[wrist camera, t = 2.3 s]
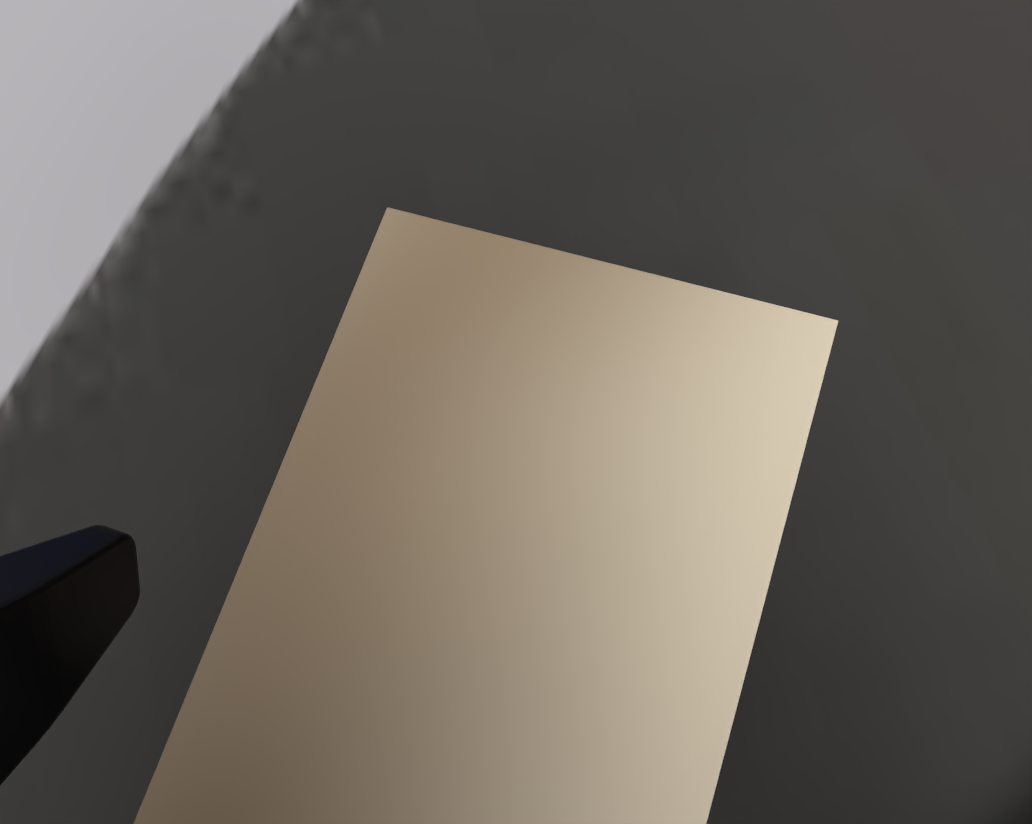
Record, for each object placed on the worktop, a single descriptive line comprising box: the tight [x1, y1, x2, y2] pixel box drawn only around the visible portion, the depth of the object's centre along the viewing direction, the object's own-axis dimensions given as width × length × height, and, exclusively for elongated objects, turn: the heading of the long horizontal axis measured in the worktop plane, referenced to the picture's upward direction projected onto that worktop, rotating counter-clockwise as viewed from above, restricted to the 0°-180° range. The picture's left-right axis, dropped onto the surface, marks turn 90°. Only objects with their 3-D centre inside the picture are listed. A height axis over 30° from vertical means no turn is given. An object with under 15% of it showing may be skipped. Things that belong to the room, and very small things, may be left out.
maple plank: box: [134, 207, 838, 824], centre depth 12 cm, size 4×5×12 cm
